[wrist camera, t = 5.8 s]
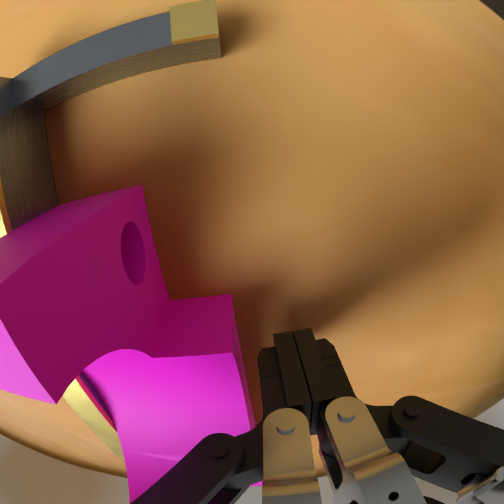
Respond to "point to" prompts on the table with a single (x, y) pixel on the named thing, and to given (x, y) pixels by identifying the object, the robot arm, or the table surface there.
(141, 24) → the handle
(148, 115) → the table surface
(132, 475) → the toy block
